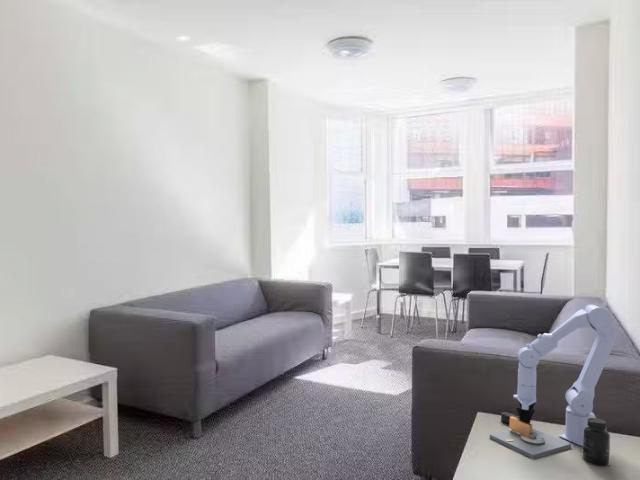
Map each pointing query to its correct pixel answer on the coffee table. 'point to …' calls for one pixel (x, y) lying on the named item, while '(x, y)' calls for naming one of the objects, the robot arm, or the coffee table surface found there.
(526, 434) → the orange block with disc
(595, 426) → the supplement bottle
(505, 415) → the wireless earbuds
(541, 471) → the coffee table surface
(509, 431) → the board
